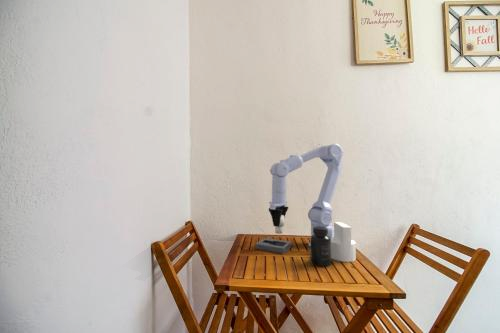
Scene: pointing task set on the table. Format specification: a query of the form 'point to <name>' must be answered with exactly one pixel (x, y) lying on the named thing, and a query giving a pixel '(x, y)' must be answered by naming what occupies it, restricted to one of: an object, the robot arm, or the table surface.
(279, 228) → the light bulb
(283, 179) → the robot arm
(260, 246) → the keyhole plate
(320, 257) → the supplement bottle
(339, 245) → the cylinder with rectangular tab
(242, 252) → the table surface
